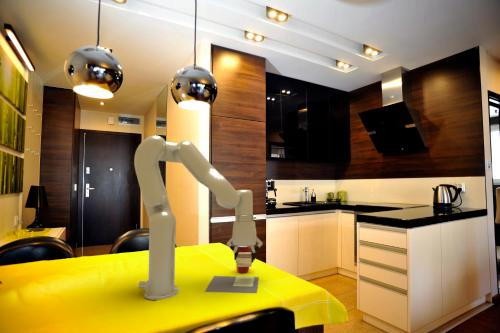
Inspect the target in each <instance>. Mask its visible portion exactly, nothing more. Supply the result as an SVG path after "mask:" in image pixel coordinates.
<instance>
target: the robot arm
mask: <svg viewBox="0 0 500 333" xmlns="http://www.w3.org/2000/svg"><path fill="white" fill-rule="evenodd" d="M159 161H161V162H169V163H175V164H176V163H177V164H182V165H183V166H184V167H185V168H186V170H187V171H188V172H189V173H190V174H191V175H192V176H193V177H194V178H195V179H194V180H196V181H197V182H198V183H200V184H201V185H203V186H204V187H206V188H207V189H208V190H210V191H211V193H212V194H214V196H215V201H216V203H217V205H218V206H220V207H222V208H226V209H229V210H230V209H231V210H232V209H234V211H235V213H234V214H235V216H234V217H235V219H234V222H233V225H232V237H231V238H230V239H229V240H228V241H227V242H226V245H227V247H228V248H230V250H231V251H232V252H233V255H234V259H233V260H235V261H236V257H237V256H238V250H237V249H238V246H250V250H251V251H250V252H251V258H252V264H253V263H254V261H256V252H257V251H258V250H259V249H260V248H261V247H262V246H263V242H262V241H261V239H259V237H258V236H257V226H256V222H255V220H257V215H254V213H253V212H254V209H253V206H254V205H253V201H254V200H253V198H254V197H253V195H254V194H253V191H252V189H238V190H236V189H235V187H234V186H233V185H232V184H231V183H230V182H229V181H228V179H226V177H224V176H223V175H222V174H221V173H220V171H219V170H217V168H215V167H214V166H213V165H212V164H211V163H210V162H209V161H208V159H207V158H206V157H205V156H204V155H203V153H202V152H201V151H200V150H199V149H198V148H197V147H196V146H195V144H194V143H192V142H191V141H189V140H182V141H180V142H179V143H178V142H170V141H166V140H165V138H163V137H162V136H160V135H155V134H153V135H150V136H148V137H146V138H145V139H144V140H142V141H141V143H140V144H139V145H138V147H137V148H136V150H135V154H134V161H133V165H134V169H135V174H136V177H137V181H138V185H139V188H140V193H141V198H142V201H143V204H144V207H145V210H146V214H147V216H148V217H147V218H148V220H149V224H148V226H149V229H148V230H149V231H148V232H149V236H148V279H147V281H145V280H144V281H142V280H140V281H138V289H145V290H144V292H143V297H144V298H145V299H147V300H150V301H151V300H152V301H158V300H164V299H169V298H173V297H175V296H176V295H178V293H179V291H180V288H179V286H178V285H175V284H176V283H175V280H176V279H175V278H176V276H175V275H176V273H175V272H176V270H175V269H176V232H177V219H176V216H175V214H174V213H173V211H172V208H171V205H170V201H169V198H168V191H167V188H166V186H165V183H164V181H163V177H162V175H161V173H162V172H161V170H160V166H159ZM256 244H257V245H256Z"/></svg>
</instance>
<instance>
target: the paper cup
mask: <svg viewBox="0 0 500 333" xmlns="http://www.w3.org/2000/svg"><path fill="white" fill-rule="evenodd" d="M237 250H238V253H239V252H251V247H250V246H238V249H237ZM249 271H250V267H236V273H237V274H240V275H244V274H248V273H249Z"/></svg>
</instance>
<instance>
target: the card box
mask: <svg viewBox="0 0 500 333" xmlns="http://www.w3.org/2000/svg"><path fill="white" fill-rule="evenodd" d="M251 252H252V251H250V252H239V253H238V256H237V257H236V260H235V263H236V264H235V266H236V267H249V268H251V267H252V264H253V263H252V258H251Z"/></svg>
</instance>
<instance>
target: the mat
mask: <svg viewBox="0 0 500 333" xmlns="http://www.w3.org/2000/svg"><path fill="white" fill-rule="evenodd" d="M259 279H260V277H259V276H230V275H229V276H227V275H214V276H213V277H212V279H211V280H210V281H209V284H208V285H207V286H206V288H205V290H204V293H230V294H231V293H232V294H233V293H234V294H238V293H239V294H257V293H258V286H259V281H260V280H259Z"/></svg>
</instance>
